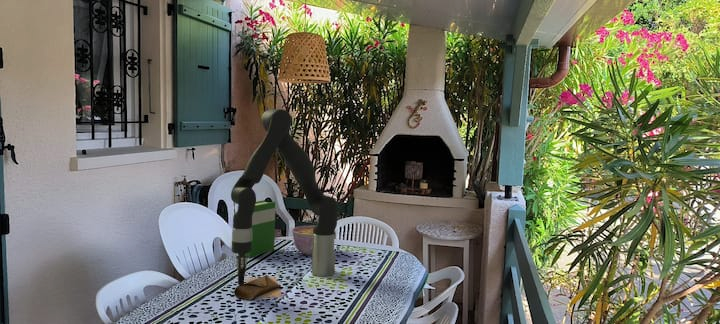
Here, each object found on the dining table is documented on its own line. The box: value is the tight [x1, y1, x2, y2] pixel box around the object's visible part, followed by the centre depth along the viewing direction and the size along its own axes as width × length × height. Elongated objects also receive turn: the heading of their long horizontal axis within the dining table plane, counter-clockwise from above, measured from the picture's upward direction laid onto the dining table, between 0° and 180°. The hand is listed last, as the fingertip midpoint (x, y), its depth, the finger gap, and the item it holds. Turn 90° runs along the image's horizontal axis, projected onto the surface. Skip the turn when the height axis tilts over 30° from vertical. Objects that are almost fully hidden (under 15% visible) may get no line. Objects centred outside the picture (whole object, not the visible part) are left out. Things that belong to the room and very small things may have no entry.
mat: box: [245, 277, 283, 299], centre depth 188 cm, size 12×22×1 cm, turn 15°
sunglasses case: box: [233, 274, 281, 301], centre depth 183 cm, size 18×7×7 cm
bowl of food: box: [291, 225, 315, 256], centre depth 239 cm, size 20×20×12 cm
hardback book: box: [245, 200, 276, 258], centre depth 237 cm, size 18×7×24 cm, turn 150°
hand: (240, 284), depth 185 cm, fingers closed
